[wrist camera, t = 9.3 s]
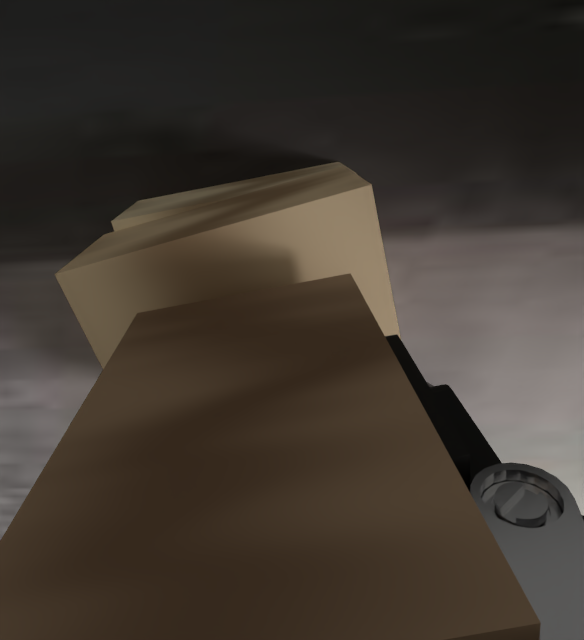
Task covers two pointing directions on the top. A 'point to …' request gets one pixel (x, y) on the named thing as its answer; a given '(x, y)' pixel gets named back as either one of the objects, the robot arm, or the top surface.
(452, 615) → the walnut block
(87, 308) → the upper maple slab
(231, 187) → the lower maple slab
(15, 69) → the top surface
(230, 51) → the top surface
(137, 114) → the top surface
